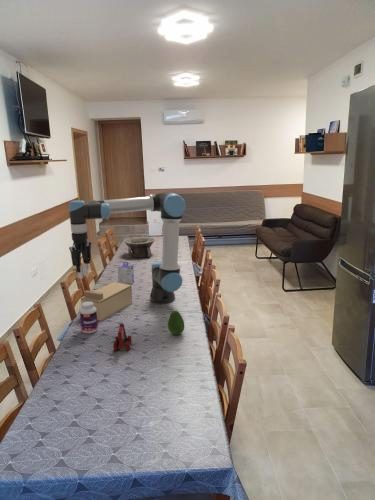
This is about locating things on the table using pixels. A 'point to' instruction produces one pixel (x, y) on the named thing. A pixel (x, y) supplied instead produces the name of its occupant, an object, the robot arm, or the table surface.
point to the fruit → (175, 323)
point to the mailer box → (112, 304)
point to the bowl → (139, 246)
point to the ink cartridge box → (125, 273)
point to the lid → (105, 292)
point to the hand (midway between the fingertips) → (83, 276)
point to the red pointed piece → (122, 339)
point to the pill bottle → (88, 318)
